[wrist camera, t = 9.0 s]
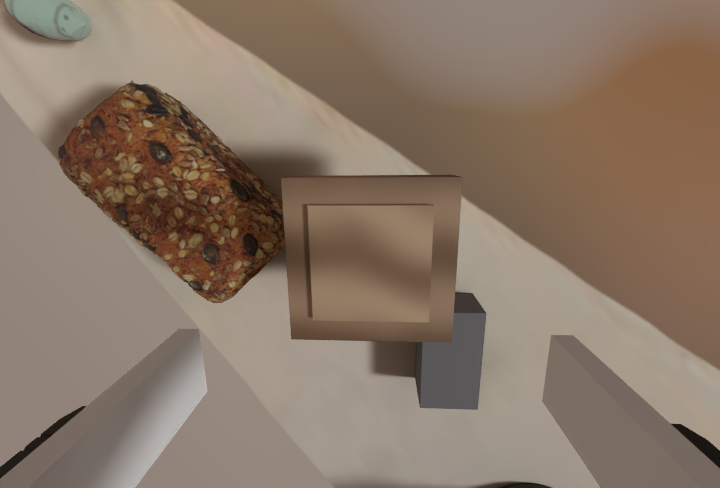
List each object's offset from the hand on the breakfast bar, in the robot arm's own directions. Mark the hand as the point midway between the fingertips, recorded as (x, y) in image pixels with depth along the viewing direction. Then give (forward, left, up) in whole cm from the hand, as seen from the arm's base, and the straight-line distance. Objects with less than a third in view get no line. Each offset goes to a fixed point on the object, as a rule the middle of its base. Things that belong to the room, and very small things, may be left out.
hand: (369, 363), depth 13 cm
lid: (0, 0, -15) cm, 15 cm away
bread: (+4, +17, -25) cm, 31 cm away
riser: (-13, -8, -25) cm, 29 cm away
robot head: (+20, +29, -25) cm, 43 cm away
